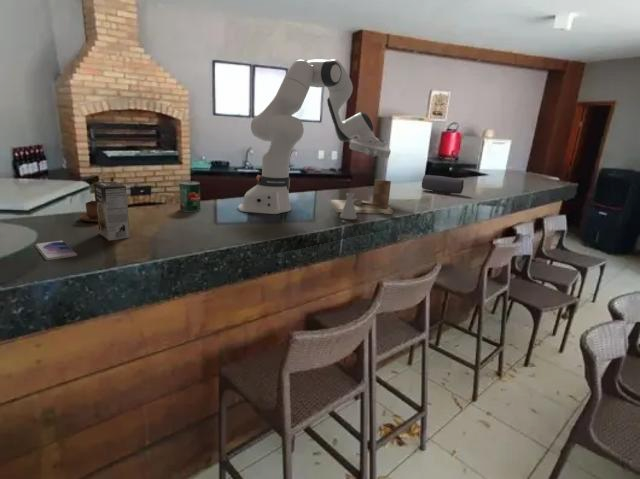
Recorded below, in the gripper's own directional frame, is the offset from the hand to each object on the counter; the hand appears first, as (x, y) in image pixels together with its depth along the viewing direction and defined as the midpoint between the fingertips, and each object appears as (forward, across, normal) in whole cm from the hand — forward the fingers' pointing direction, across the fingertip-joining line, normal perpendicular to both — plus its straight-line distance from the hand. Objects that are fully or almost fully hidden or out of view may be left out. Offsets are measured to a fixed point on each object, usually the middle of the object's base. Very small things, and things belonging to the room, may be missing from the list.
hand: (371, 154), depth 187 cm
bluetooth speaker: (-34, +57, +26) cm, 72 cm away
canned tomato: (+37, -73, +28) cm, 86 cm away
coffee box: (+75, -87, +18) cm, 116 cm away
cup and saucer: (+58, -99, +26) cm, 118 cm away
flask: (+38, -10, +15) cm, 42 cm away
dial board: (+18, -1, +20) cm, 27 cm away
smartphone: (+90, -96, +16) cm, 132 cm away
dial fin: (+21, +2, +16) cm, 26 cm away
